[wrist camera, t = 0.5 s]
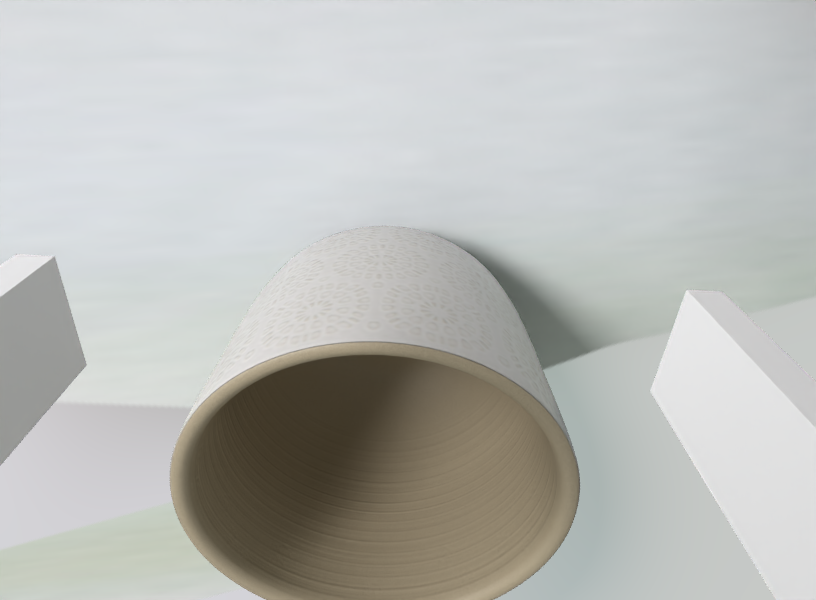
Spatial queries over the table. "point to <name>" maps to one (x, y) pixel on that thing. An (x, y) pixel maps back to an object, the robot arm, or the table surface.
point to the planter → (377, 432)
